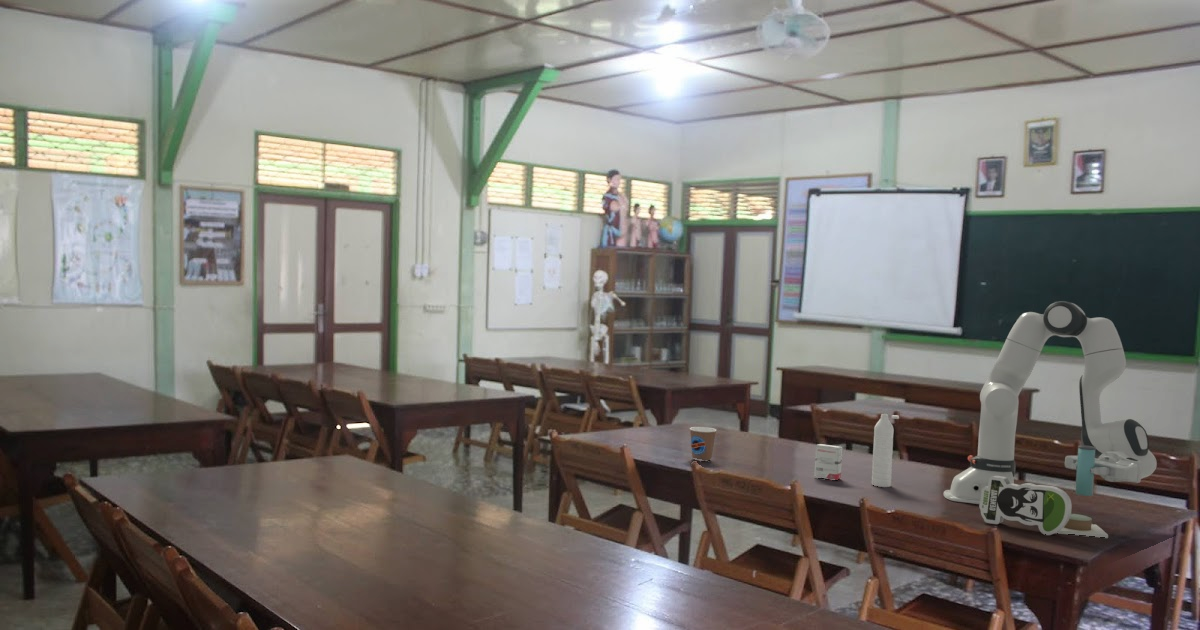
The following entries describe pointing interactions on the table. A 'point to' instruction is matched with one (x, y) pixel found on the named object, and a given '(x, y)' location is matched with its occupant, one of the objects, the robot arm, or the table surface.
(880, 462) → the water bottle
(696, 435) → the coffee cup
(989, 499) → the cutout
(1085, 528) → the display stand
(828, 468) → the ink box
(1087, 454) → the tube
